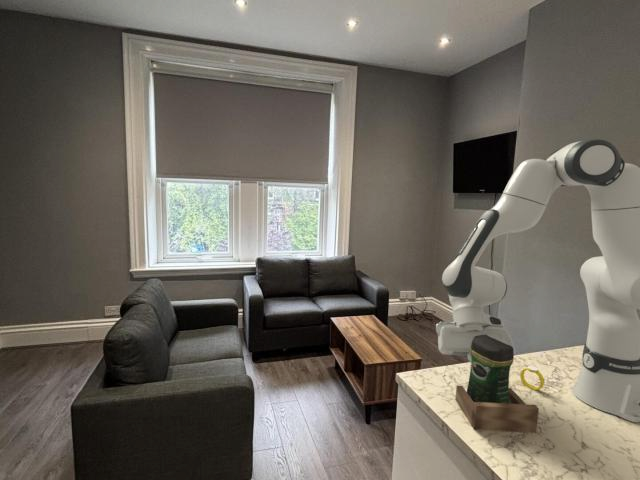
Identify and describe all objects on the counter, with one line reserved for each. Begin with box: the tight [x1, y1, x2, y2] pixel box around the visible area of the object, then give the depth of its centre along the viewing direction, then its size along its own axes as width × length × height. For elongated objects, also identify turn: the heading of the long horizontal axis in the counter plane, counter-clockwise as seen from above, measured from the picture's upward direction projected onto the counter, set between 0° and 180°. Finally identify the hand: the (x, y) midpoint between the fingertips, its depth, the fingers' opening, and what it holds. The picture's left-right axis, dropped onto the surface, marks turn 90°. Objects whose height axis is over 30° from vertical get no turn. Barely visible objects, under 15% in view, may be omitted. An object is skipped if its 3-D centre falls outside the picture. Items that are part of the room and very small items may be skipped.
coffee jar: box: [466, 334, 515, 404], centre depth 86 cm, size 10×8×19 cm
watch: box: [519, 365, 545, 391], centre depth 98 cm, size 6×3×6 cm, turn 30°
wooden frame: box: [455, 385, 540, 434], centre depth 84 cm, size 14×12×6 cm
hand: (481, 371), depth 91 cm, fingers closed, pressing on coffee jar
